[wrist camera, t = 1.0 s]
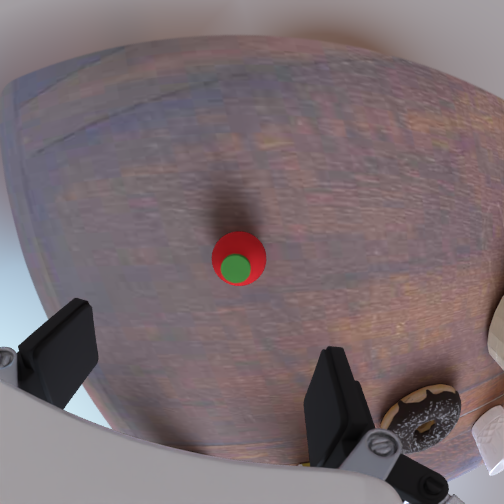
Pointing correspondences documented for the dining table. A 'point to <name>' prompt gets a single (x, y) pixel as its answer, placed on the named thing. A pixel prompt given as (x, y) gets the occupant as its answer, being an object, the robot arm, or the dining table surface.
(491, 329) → the bowl
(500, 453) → the white cup
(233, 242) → the tomato
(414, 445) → the donut
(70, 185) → the dining table surface
